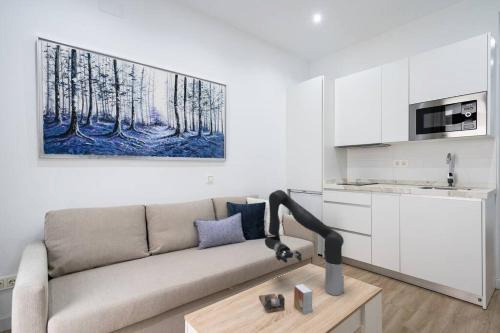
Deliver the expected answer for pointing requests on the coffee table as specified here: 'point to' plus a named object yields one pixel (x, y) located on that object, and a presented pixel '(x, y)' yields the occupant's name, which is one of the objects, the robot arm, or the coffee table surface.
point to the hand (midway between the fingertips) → (293, 260)
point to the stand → (273, 302)
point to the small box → (303, 298)
